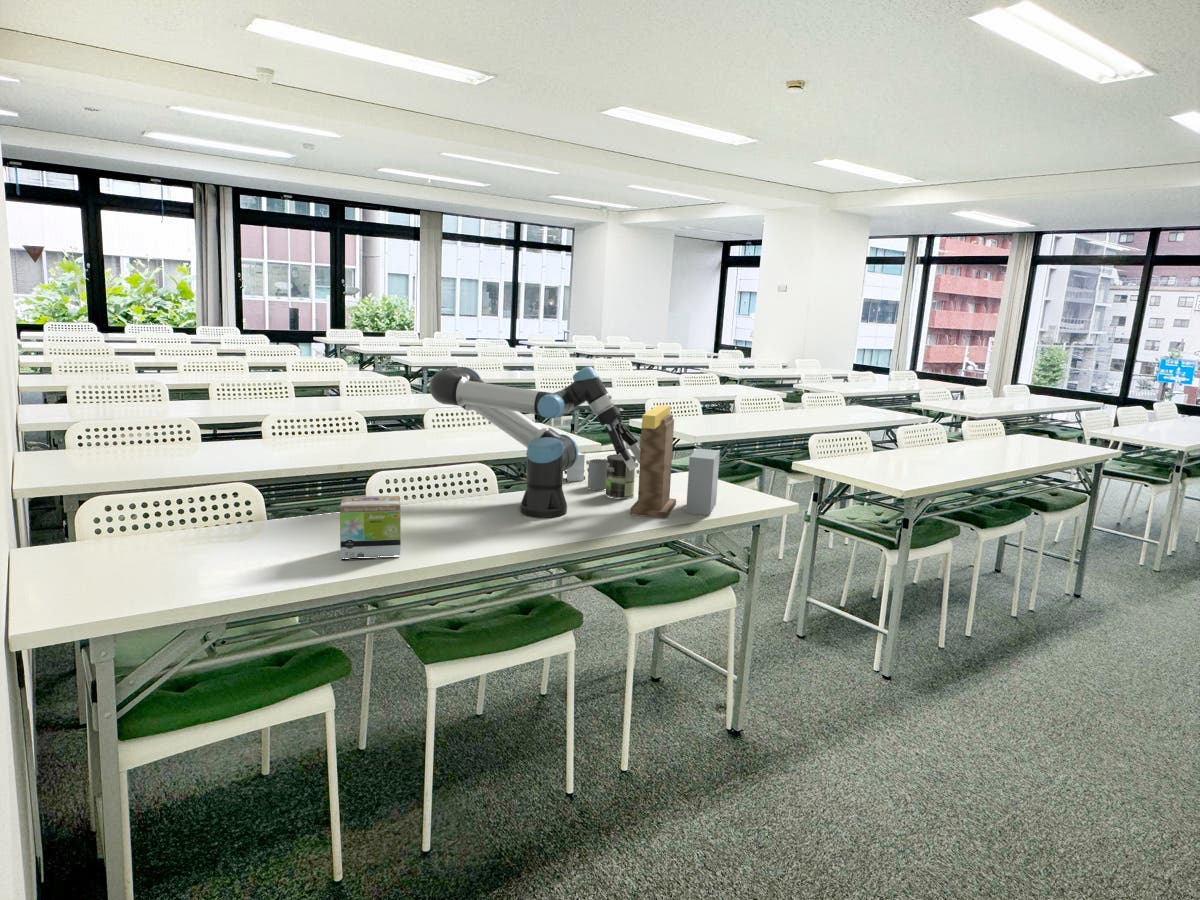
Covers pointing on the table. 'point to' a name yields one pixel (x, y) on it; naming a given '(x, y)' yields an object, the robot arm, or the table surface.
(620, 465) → the coffee can
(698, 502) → the grey slab
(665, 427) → the stand
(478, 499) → the table surface
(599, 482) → the cup
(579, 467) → the skincare box
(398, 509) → the tea box
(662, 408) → the block
